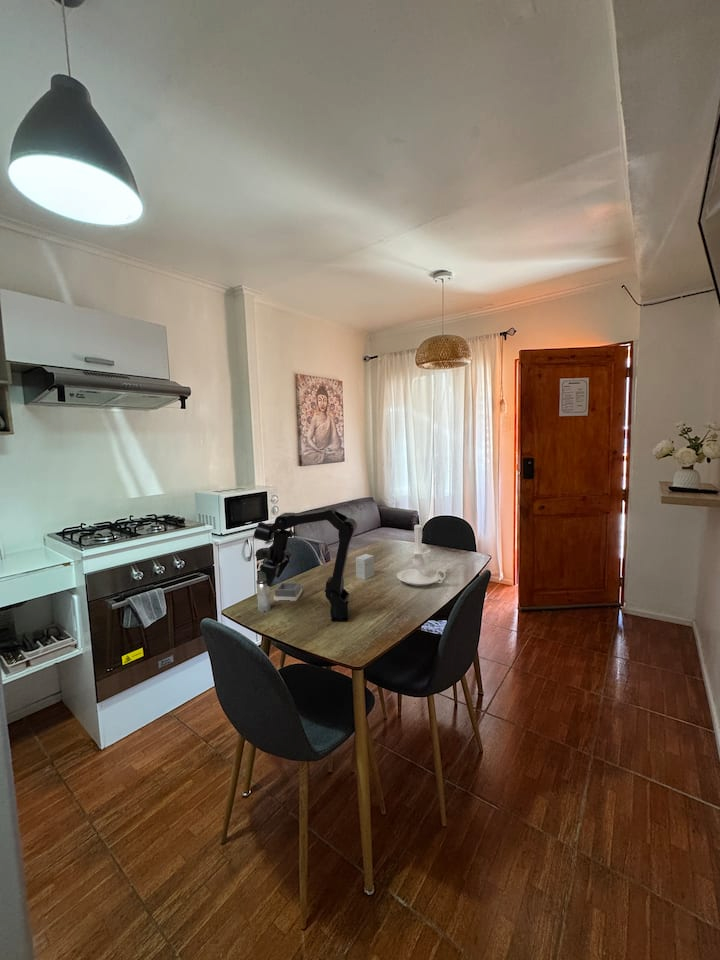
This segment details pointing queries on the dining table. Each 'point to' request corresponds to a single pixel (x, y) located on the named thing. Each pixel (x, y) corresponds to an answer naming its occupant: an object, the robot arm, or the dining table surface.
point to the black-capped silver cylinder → (263, 595)
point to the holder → (288, 591)
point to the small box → (364, 566)
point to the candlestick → (419, 565)
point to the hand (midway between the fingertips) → (273, 581)
